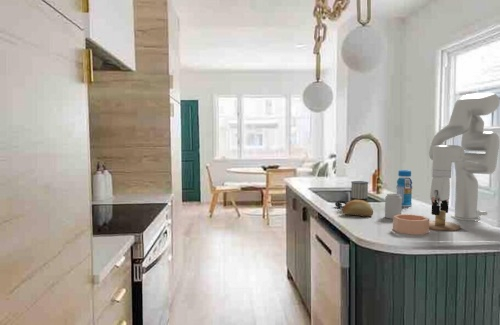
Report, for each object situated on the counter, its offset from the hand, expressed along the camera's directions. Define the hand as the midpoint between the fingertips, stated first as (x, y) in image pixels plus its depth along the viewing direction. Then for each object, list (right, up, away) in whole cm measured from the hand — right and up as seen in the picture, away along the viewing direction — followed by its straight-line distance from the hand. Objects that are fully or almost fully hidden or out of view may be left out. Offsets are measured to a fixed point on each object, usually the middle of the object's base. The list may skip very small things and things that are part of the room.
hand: (439, 213), depth 181 cm
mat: (0, -6, +1) cm, 6 cm away
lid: (0, -6, +1) cm, 6 cm away
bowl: (-15, -7, -6) cm, 18 cm away
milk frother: (-26, -3, +49) cm, 55 cm away
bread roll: (-28, -5, +29) cm, 40 cm away
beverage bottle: (+6, -3, +58) cm, 58 cm away
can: (-13, -5, +21) cm, 25 cm away
